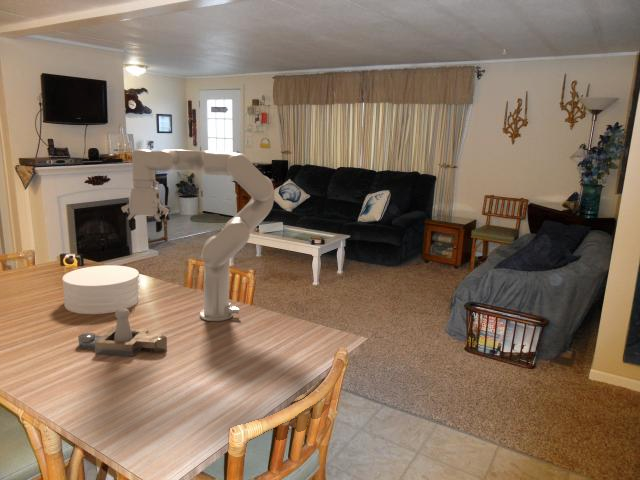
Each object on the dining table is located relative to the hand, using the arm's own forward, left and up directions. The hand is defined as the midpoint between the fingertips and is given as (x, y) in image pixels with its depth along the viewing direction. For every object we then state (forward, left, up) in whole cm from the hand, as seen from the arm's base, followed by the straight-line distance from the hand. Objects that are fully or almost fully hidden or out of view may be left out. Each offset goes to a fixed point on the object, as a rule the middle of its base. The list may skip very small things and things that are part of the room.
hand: (145, 230), depth 173 cm
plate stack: (+24, -12, -34) cm, 43 cm away
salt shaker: (-3, +27, -34) cm, 43 cm away
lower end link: (+1, +27, -33) cm, 43 cm away
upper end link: (-7, +27, -33) cm, 43 cm away
